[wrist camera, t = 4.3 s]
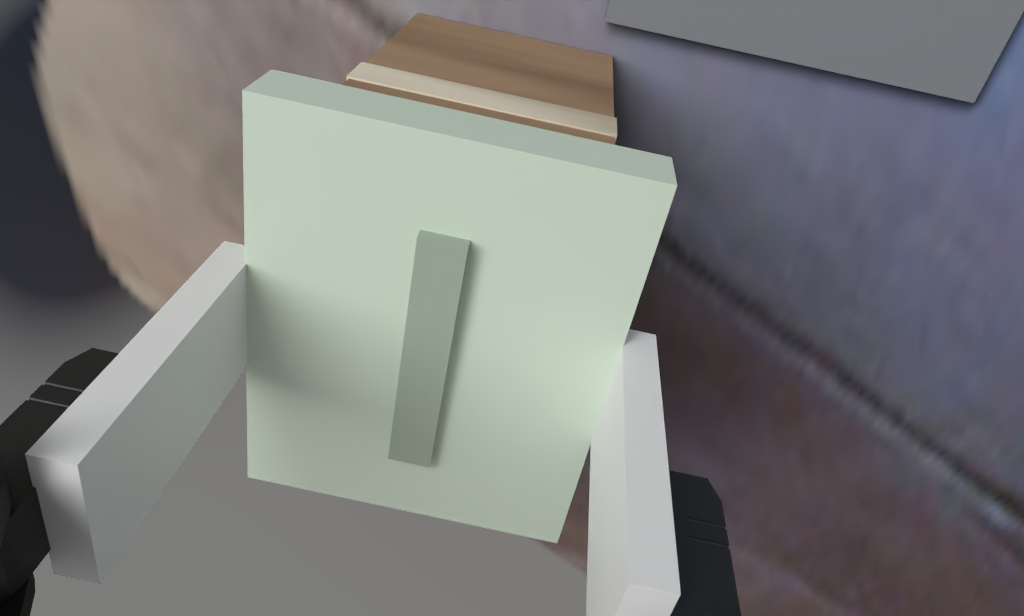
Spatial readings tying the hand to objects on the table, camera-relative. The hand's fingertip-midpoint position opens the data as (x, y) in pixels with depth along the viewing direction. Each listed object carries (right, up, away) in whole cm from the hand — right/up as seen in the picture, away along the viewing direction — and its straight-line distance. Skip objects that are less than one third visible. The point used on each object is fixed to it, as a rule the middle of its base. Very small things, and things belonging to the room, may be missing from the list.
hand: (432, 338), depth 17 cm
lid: (0, 0, +1) cm, 1 cm away
